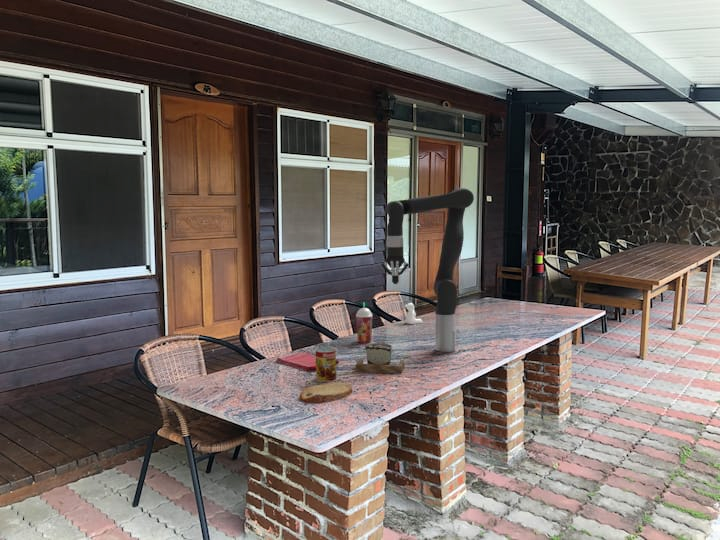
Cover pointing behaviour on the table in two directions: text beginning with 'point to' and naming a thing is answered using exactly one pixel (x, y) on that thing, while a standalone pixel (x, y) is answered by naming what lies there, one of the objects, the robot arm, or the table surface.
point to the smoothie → (364, 324)
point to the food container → (378, 353)
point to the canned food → (325, 364)
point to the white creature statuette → (411, 315)
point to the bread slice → (325, 392)
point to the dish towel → (301, 361)
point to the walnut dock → (379, 367)
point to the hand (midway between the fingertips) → (395, 283)
